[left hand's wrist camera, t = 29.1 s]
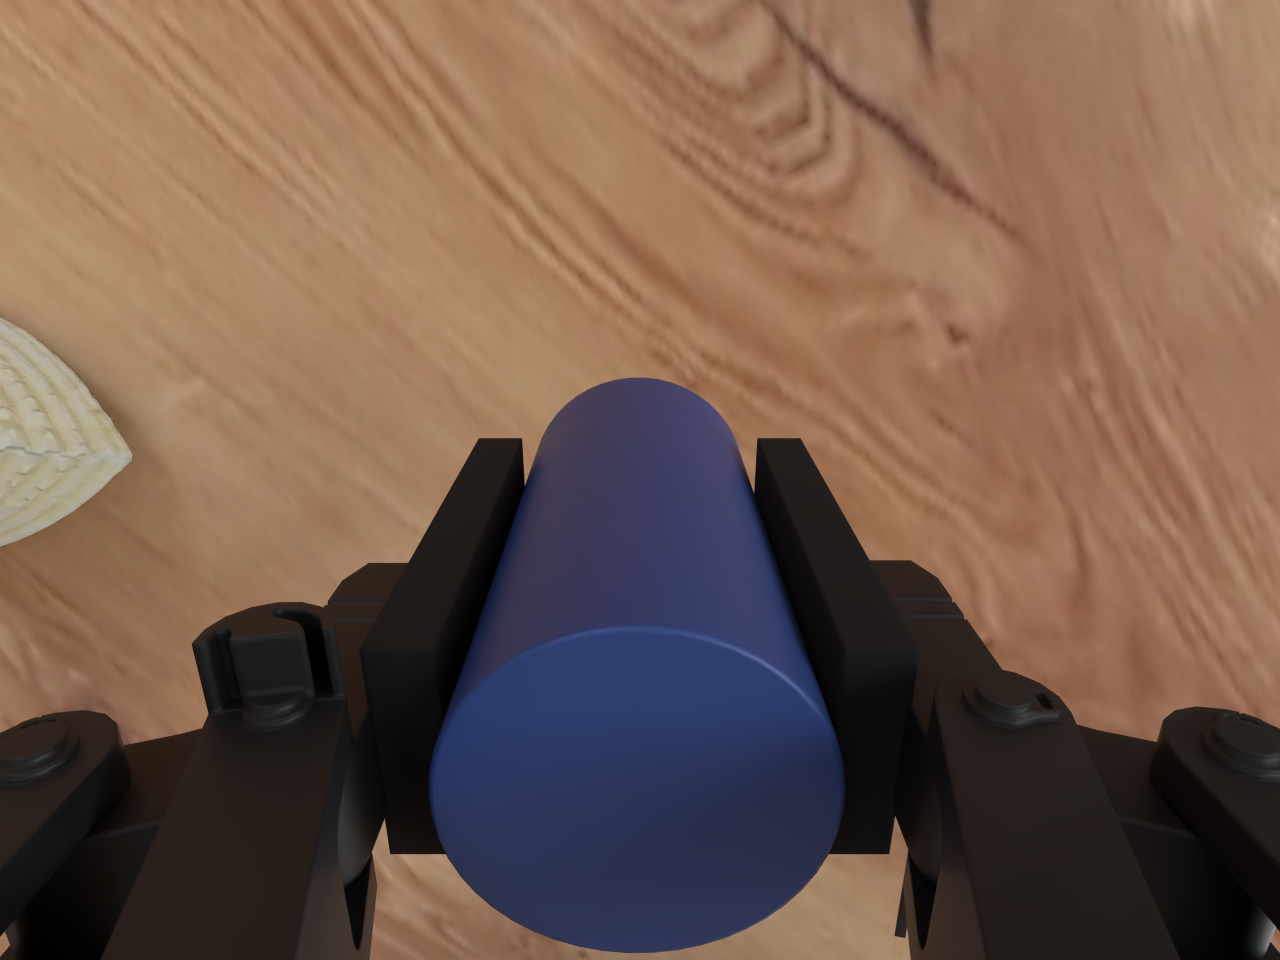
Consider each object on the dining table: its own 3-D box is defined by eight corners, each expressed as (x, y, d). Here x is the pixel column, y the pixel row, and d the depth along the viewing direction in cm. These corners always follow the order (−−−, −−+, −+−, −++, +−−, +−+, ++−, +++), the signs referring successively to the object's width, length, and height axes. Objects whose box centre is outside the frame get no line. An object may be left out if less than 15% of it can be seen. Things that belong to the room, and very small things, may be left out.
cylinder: (780, 501, 16) (921, 848, 8) (613, 602, 17) (590, 1007, 9) (666, 334, 15) (698, 545, 7) (492, 452, 16) (338, 765, 8)
